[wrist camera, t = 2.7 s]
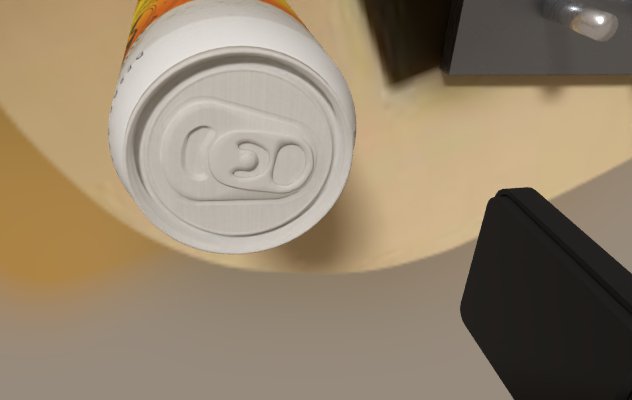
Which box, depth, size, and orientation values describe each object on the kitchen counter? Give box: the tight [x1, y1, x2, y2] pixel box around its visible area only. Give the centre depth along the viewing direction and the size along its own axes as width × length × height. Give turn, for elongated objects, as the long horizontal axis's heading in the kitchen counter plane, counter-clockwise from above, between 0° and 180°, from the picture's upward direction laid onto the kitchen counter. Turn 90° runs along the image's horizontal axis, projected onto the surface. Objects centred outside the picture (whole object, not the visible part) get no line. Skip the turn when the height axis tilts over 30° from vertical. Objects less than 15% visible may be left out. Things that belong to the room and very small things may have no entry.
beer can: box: [108, 0, 356, 254], centre depth 19 cm, size 6×6×15 cm
